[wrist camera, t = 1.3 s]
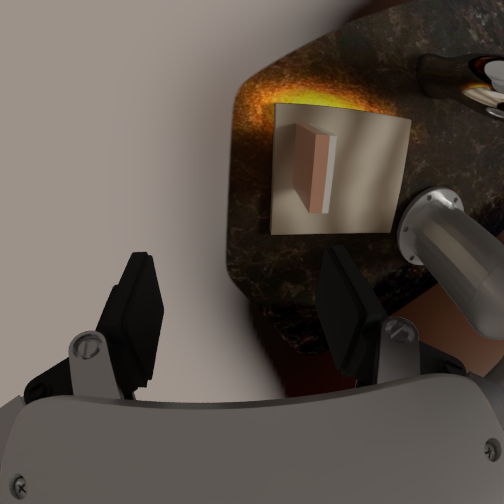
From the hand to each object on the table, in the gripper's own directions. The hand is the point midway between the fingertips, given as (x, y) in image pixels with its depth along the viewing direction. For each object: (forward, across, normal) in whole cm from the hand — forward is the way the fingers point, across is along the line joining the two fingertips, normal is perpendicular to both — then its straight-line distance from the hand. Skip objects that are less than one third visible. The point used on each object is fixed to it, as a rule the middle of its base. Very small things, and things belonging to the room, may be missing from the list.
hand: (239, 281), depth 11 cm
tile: (+20, -8, 0) cm, 22 cm away
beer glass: (+22, -24, -12) cm, 35 cm away
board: (+22, -12, +2) cm, 25 cm away
